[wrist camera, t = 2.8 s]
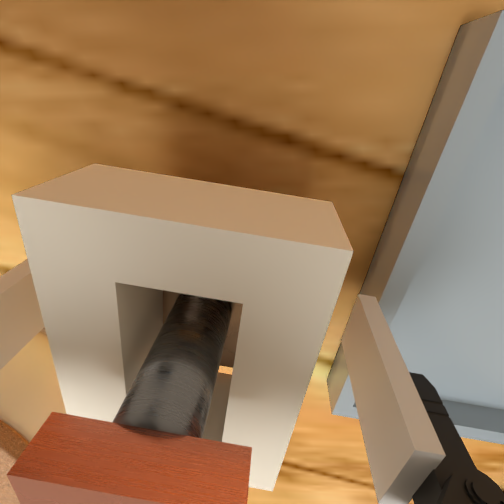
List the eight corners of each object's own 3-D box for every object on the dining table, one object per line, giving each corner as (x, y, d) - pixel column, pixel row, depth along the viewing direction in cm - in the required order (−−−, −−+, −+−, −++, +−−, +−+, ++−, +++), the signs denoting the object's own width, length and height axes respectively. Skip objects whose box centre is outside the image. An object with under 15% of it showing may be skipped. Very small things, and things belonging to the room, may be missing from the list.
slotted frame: (94, 163, 10) (11, 195, 7) (332, 201, 10) (353, 251, 7) (118, 382, 15) (77, 455, 12) (274, 410, 15) (272, 491, 12)
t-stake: (179, 196, 16) (-32, 406, 5) (279, 212, 16) (268, 460, 5) (177, 290, 19) (38, 548, 8) (261, 304, 18) (231, 584, 8)
